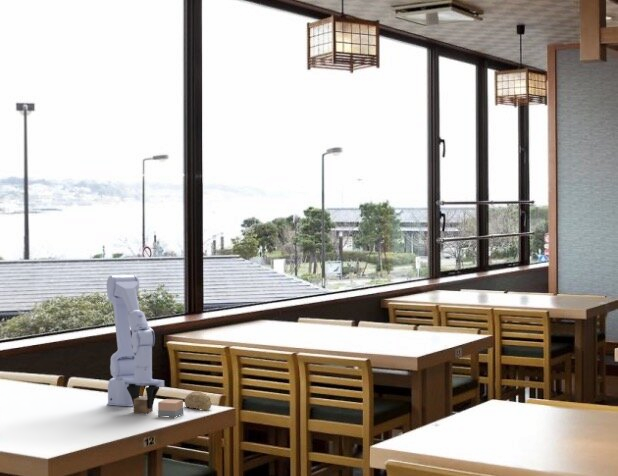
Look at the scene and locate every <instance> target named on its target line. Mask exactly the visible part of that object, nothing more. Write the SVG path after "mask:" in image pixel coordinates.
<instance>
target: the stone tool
mask: <svg viewBox="0 0 618 476" xmlns="http://www.w3.org/2000/svg"><path fill="white" fill-rule="evenodd" d="M184 405H185V406H186V407H190V408H189V409H193V408H196V409H195V410H197V409H202V410H201V411H206V410H210V409H211V408H212V401H211V397H210V395H207V393H204V392H202V391H200V390H194V391H191V392H190V393H189V394H187V395H186V397H184ZM186 407H185V408H186Z"/></svg>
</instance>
